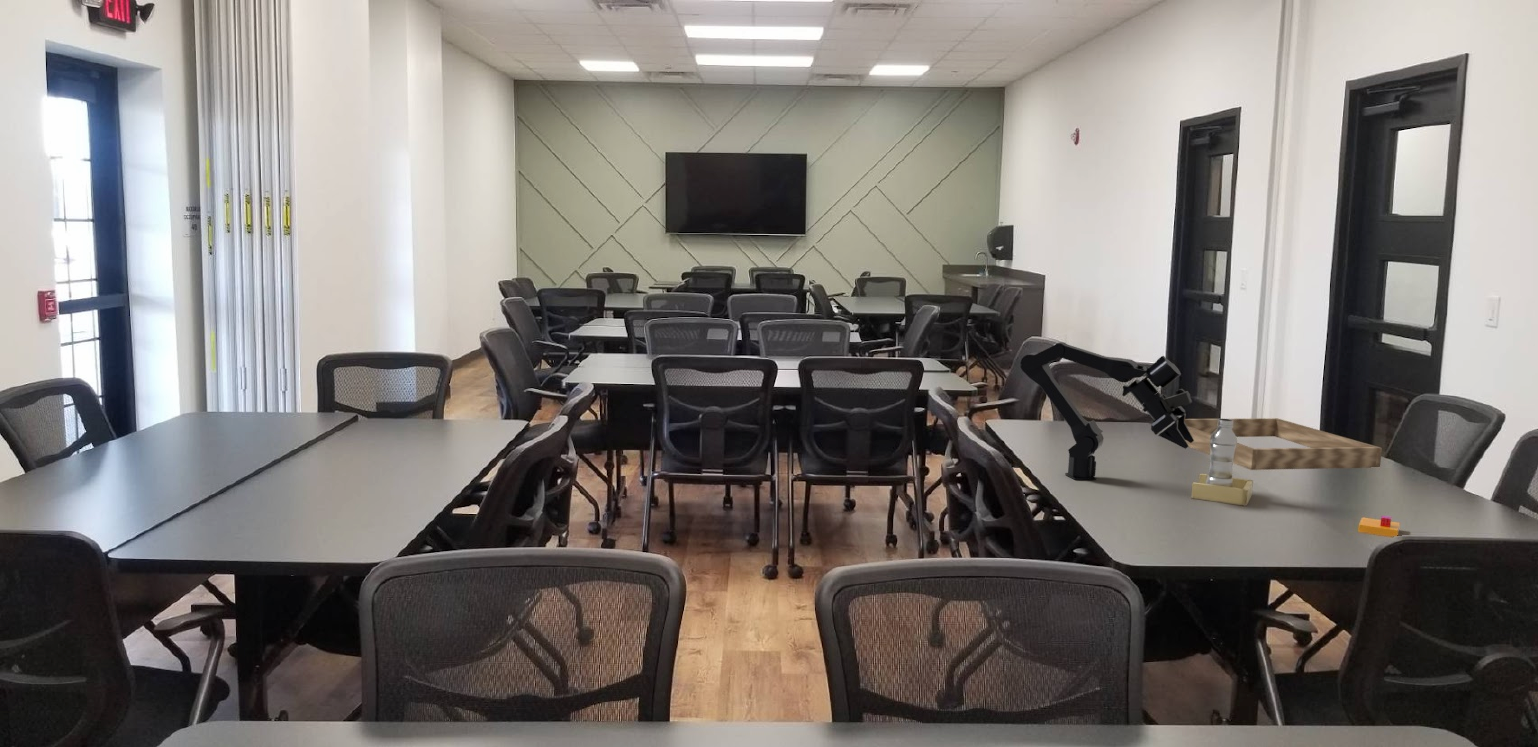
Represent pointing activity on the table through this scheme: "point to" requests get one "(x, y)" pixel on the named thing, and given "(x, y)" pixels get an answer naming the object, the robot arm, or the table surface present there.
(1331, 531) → the table surface
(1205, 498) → the bay
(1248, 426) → the frame
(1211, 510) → the table surface
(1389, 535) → the orange block
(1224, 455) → the plastic bottle
